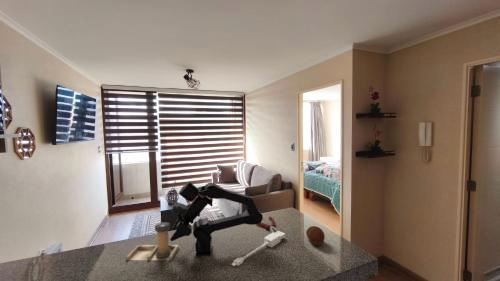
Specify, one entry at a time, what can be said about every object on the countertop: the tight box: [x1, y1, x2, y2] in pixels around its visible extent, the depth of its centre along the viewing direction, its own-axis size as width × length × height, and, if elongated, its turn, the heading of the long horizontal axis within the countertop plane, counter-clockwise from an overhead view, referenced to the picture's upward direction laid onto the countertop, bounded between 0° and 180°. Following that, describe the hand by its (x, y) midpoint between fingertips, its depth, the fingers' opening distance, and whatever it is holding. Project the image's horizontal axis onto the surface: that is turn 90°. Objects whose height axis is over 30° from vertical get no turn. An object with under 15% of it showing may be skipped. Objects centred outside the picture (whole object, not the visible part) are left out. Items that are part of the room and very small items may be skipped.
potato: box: [305, 225, 326, 247], centre depth 105 cm, size 8×12×8 cm, turn 16°
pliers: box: [255, 216, 278, 233], centre depth 122 cm, size 12×20×3 cm, turn 19°
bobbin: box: [154, 222, 171, 259], centre depth 95 cm, size 6×6×13 cm
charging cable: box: [231, 230, 286, 267], centre depth 99 cm, size 5×32×3 cm, turn 135°
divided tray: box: [125, 243, 180, 261], centre depth 96 cm, size 19×9×3 cm, turn 89°
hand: (171, 234), depth 95 cm, fingers open, 9 cm apart
